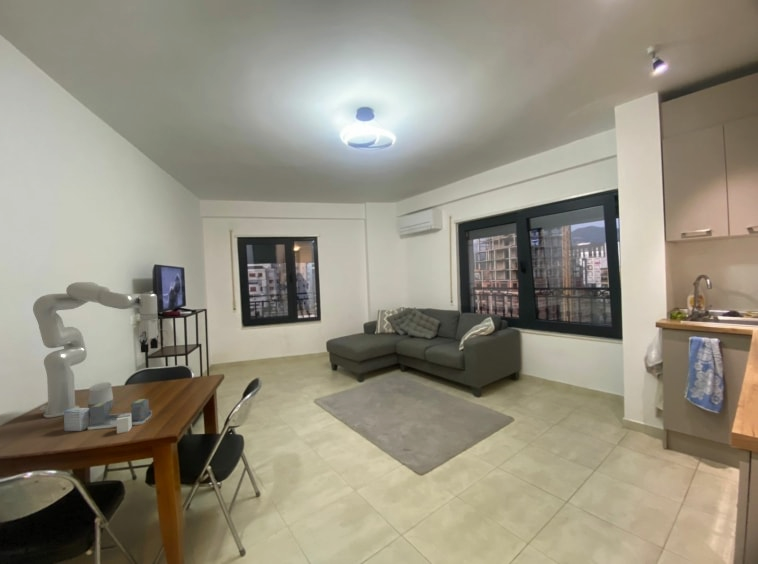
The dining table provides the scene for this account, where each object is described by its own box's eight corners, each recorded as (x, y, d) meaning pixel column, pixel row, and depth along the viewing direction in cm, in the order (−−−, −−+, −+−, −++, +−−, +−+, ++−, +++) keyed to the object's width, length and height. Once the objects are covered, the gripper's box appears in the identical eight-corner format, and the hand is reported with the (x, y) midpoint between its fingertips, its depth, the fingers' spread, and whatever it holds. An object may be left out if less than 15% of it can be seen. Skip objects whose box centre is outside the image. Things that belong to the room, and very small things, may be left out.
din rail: (87, 430, 137) (86, 408, 137) (101, 421, 145) (100, 400, 145) (142, 424, 141) (141, 403, 141) (152, 415, 150) (151, 396, 150)
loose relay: (116, 433, 132) (116, 419, 132) (120, 429, 137) (119, 414, 137) (128, 431, 134) (128, 416, 134) (131, 426, 139) (131, 412, 139)
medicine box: (90, 426, 140) (90, 407, 140) (80, 431, 135) (79, 411, 135) (74, 426, 141) (74, 407, 141) (63, 431, 136) (63, 411, 136)
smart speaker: (84, 417, 150) (84, 388, 150) (92, 410, 158) (91, 383, 158) (109, 413, 154) (109, 385, 154) (116, 407, 162) (115, 380, 162)
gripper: (148, 316, 170) (149, 347, 170) (131, 319, 153) (132, 354, 153) (164, 315, 171) (165, 346, 171) (148, 318, 154) (149, 353, 154)
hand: (149, 350), depth 162 cm, fingers open, 9 cm apart
